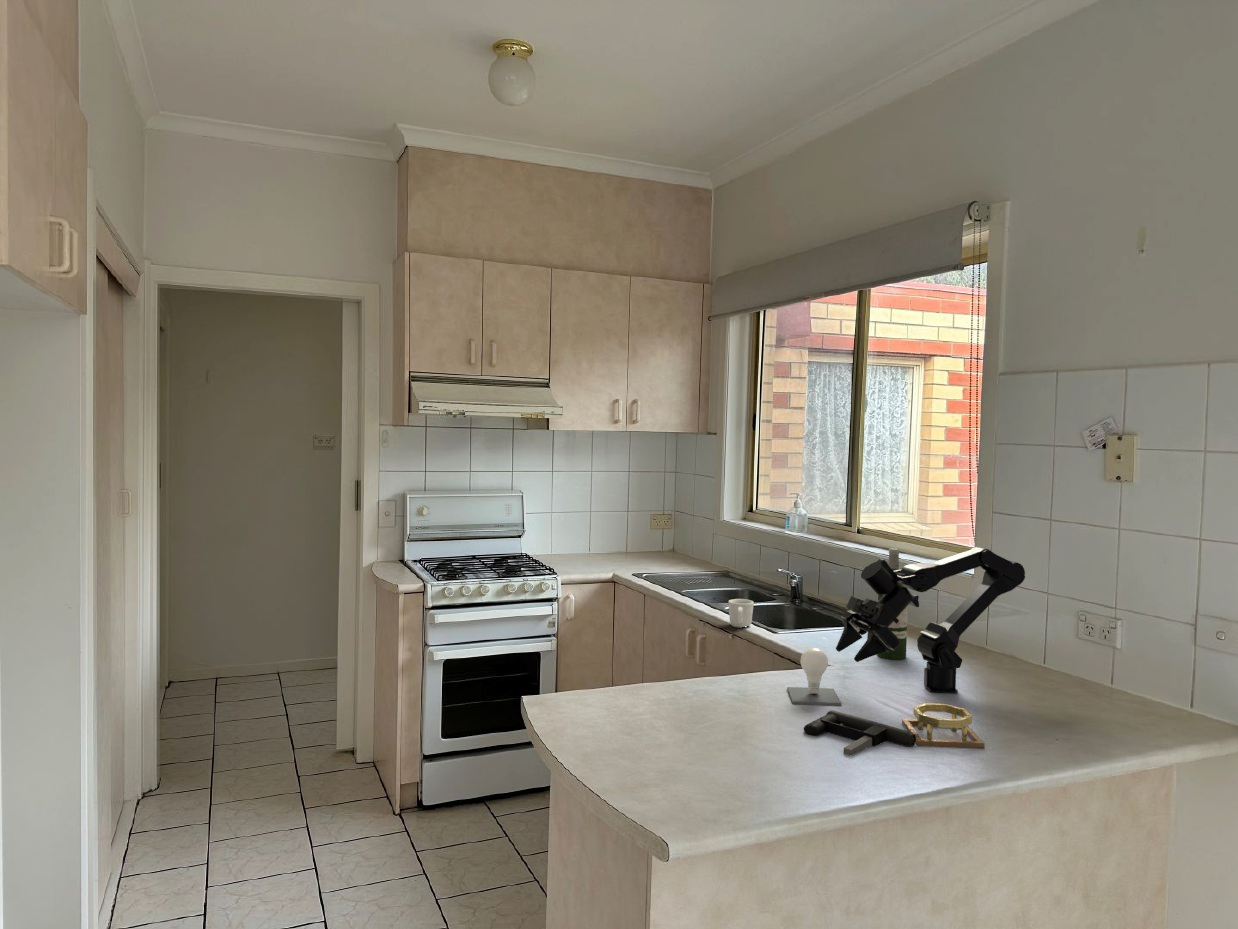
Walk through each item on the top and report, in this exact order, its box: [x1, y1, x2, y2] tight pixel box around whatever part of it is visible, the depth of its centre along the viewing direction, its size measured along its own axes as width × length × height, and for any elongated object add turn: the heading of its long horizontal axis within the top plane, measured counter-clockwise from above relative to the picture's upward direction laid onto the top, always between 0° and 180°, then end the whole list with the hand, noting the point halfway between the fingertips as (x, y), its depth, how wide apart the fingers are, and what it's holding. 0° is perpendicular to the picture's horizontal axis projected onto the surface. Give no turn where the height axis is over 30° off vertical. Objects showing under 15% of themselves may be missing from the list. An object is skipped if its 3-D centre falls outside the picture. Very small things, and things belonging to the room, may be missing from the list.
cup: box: [728, 598, 755, 629], centre depth 277 cm, size 11×8×8 cm
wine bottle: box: [876, 548, 908, 661], centre depth 244 cm, size 8×8×30 cm
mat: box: [787, 686, 842, 706], centre depth 207 cm, size 11×11×1 cm
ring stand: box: [901, 702, 986, 749], centre depth 182 cm, size 13×13×5 cm
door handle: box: [803, 709, 916, 756], centre depth 179 cm, size 3×20×16 cm
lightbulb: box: [800, 647, 829, 695], centre depth 207 cm, size 6×6×11 cm
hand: (846, 655), depth 208 cm, fingers open, 9 cm apart
